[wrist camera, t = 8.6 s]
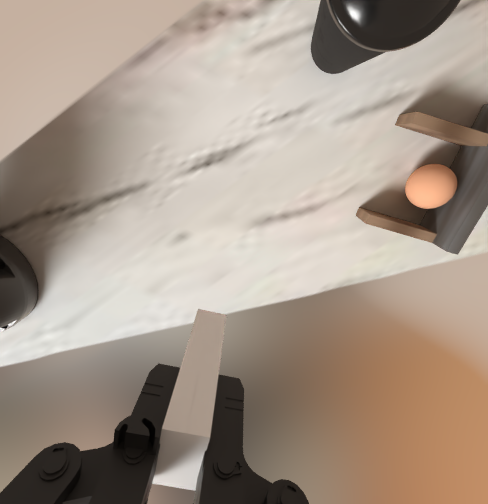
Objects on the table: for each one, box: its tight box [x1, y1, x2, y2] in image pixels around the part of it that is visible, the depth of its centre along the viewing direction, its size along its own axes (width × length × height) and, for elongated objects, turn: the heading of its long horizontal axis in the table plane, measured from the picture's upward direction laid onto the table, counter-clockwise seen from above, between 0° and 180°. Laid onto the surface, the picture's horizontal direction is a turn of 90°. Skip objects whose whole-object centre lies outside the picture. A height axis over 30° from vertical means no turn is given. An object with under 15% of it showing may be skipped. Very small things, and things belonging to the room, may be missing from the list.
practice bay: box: [356, 104, 488, 255], centre depth 28 cm, size 9×14×6 cm, turn 165°
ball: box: [405, 164, 457, 209], centre depth 30 cm, size 4×4×4 cm
